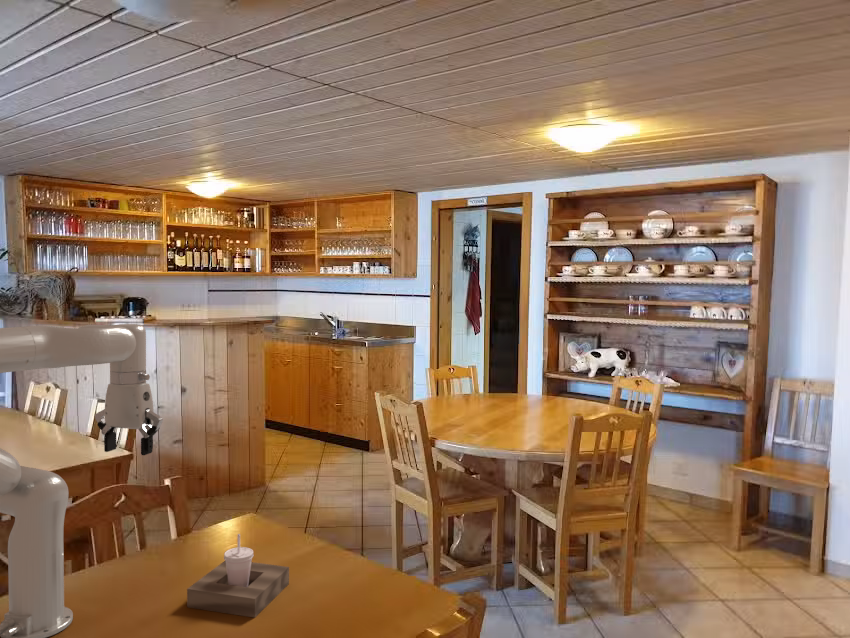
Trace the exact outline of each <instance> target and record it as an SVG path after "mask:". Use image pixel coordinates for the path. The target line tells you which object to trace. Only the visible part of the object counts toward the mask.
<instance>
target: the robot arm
mask: <svg viewBox="0 0 850 638" xmlns="http://www.w3.org/2000/svg"><path fill="white" fill-rule="evenodd" d="M103 364H109V384H107V388H106V392H105V402H104V408H103V409H102V410H100V411H98V412H96V413H95V414H94V419H95V421H96V423H97V426H98V428H99V429H100V430H101V434H102V435H103V437H104V438H103V439H104V440H103V445H104V447H103V448H104V449H103V450H104V452H105V453H108V452H112V451H114V450H116V449H117V432H116V429H127V430H128V429H130V430H138V431H139V432H140V434H141V435H142V437H141V438H140V455H141V456H147V455H149V454H152V453H153V450H154V437H155V435H156V433H158V431H159V430H160V427H161V425H162V423H163V421H164V420H163V419H164V418H163V417H162V416H160V415H159V414H158V413H156V412H155V411H154V402H153V401H154V400H153V395H152V389H151V386H150V383H147V381H149V380H150V377H151V376H150V374H147V331H146V328H145V326H143V325H142V324H139V323H137V324H135V323H122V324H120V323H119V324H115V325H112V324H111V325H107V324H105V325H104V324H86V325H82V326H79V327H77V328H76V327H75V328H74V327H73V328H72V327H61V326H60V327H59V326H50V325H48V326H47V325H29V326H28V325H27V326H16V327H15V326H14V327H0V374H4V373H5V374H6V373H13V372H19V371H20V372H22V371H30V370H43V369H58V368H66V367H78V366H80V367H81V366H92V365H93V366H95V365H103ZM69 495H70V494H69V487H68V484H67V483H66V481H65V480H64V479H63V478H62V477H61V476H60V475H59V474H57V473H55V472H53V471H50V470H46V469H42V468H36V467H29V466H25V465H24V466H23V465H21V464H20V463H19V461H18V460H17V458H16V457H14V455H13V454H11V453H10V452H8V451H6V450H5V449H2V448H0V513H1V514H5V515H9V516H12V517H14V523H13V526H12V528H11V531H10V533H9V537H8V539H7V540H8V542H7V557H8V558H7V563H8V568H7V569H8V573H7V575H8V576H7V577H8V611H7V612H5V613H4V615H3V616H4V617H3V618H4V619H3V620H2V621H1V622H0V637H1V638H49V637H51V636H54V635H56V634H58V633H60V632H61V631H64V630H65V629H66V628H68V627H69V626H70V625H71V624H72V623H73V622H72V621H73V619H74V617H73V616H74V613H73V610H71V609H70V608H69V607H67V606H65V578H64V577H65V571H64V570H65V567H64V565H65V564H64V563H65V562H64V560H65V558H64V557H65V556H64V552H65V551H64V550H65V549H64V527H65V526H64V525H65V524H64V523H65V516H66V511H67V505H68V501H69Z"/></svg>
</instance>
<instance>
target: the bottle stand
mask: <svg viewBox="0 0 850 638" xmlns="http://www.w3.org/2000/svg"><path fill="white" fill-rule="evenodd" d="M288 585H290V567H289V566H284V565H283V566H282V565H276V564H269V563H261V562H254V561H253V562H252V561H251V569H250V576H249V584H248V587H241V586H234V585H229V584H228V576H227V568H226V561H225V560H223V561H222V562H221V563H220V564H219V565H216V567H214V568H213V569H211V570H210V571H209V572H208V573H207V574H205V575H204V576H202V577H201V578H200V579H199V580H196V582H194V583H193V584H192V585H191V586H189V587H187V589H186V593H187V595H186V596H187V597H186V602H187V603H186V605H187V606H186V607H187V608H190V609H191V608H192V609H196V610H203V611H204V610H205V611H210V612H217V613H222V614H223V613H224V614H229V615H235V616H242V617H249V618H257V616H259V614H260V613H261V612H263V610H264V609H265V608H267V607H268V605H269V604H271V602H272V601H274V599H275V598H276V597H277V596H279V594H281V593H282V592H283V591H284V590H285V588H287V587H288Z"/></svg>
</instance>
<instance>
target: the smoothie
mask: <svg viewBox="0 0 850 638" xmlns="http://www.w3.org/2000/svg"><path fill="white" fill-rule="evenodd" d="M254 556H255V555H254V550H253V549H252V548H249V547H246V546H241V533H237V547H233V548H229V549H228V550H226V551H225V552H224V554H223V561H226V568H227V576H228V584H229V585H234V586H241V587H248V584H249V576H250V569H251V562H252V559H253V557H254Z"/></svg>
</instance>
